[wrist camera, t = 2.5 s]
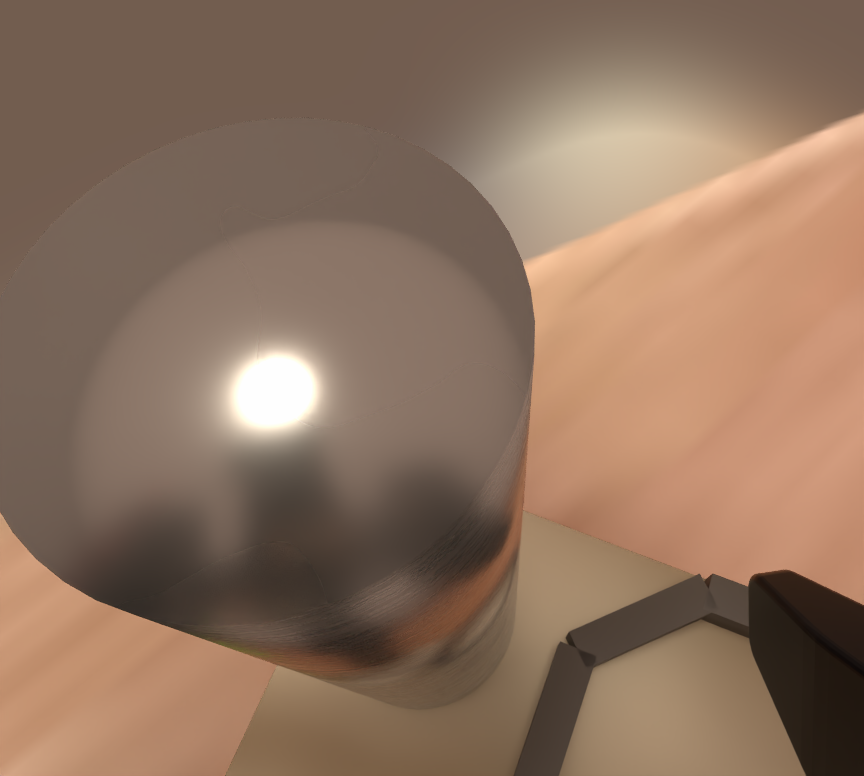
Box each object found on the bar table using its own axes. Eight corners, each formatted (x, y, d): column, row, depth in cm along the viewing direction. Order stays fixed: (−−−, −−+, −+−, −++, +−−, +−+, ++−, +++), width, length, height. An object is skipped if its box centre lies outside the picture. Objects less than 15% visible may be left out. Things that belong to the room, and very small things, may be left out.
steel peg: (473, 743, 16) (390, 737, 5) (292, 660, 17) (-145, 486, 6) (542, 553, 18) (611, 192, 6) (373, 487, 19) (160, 70, 7)
